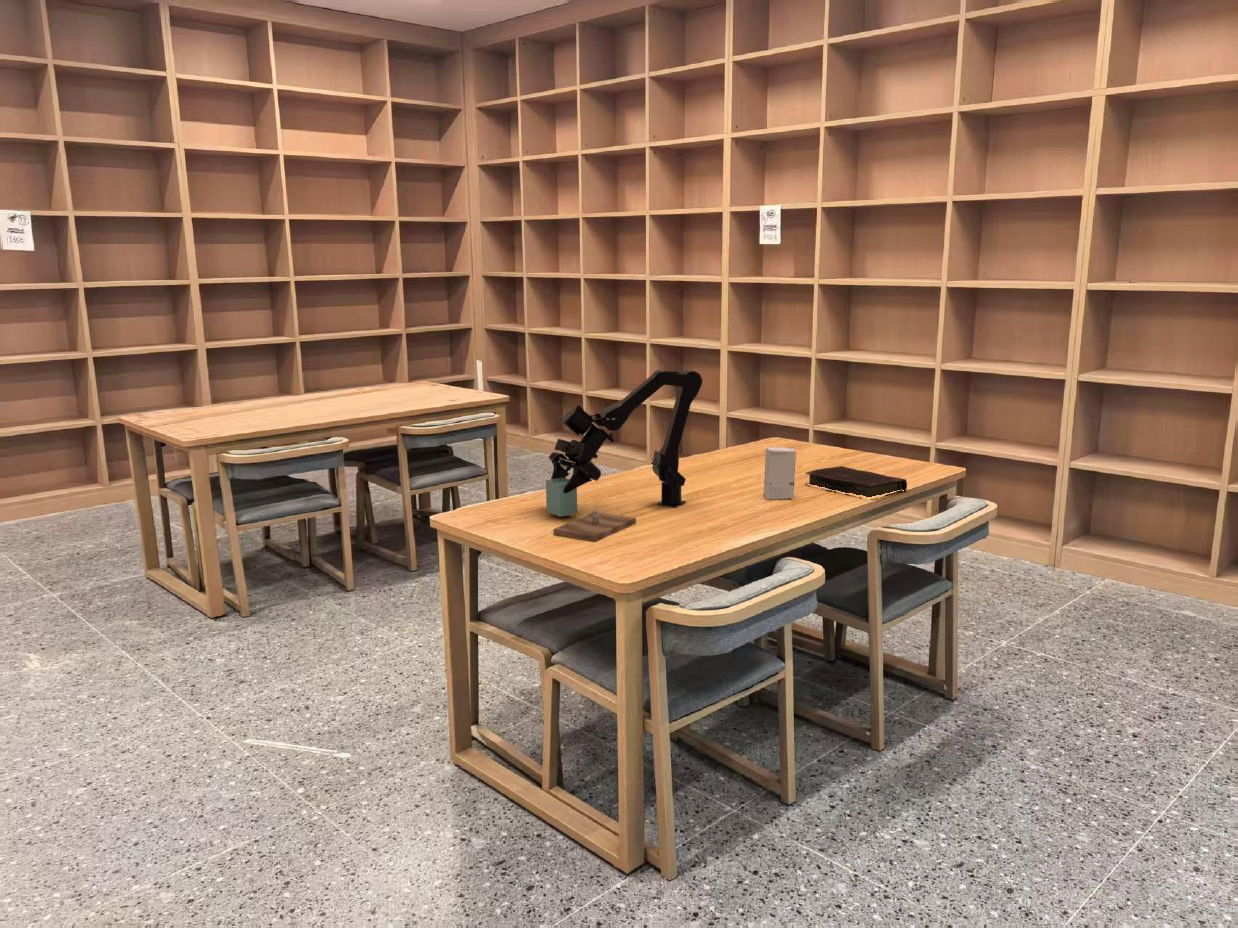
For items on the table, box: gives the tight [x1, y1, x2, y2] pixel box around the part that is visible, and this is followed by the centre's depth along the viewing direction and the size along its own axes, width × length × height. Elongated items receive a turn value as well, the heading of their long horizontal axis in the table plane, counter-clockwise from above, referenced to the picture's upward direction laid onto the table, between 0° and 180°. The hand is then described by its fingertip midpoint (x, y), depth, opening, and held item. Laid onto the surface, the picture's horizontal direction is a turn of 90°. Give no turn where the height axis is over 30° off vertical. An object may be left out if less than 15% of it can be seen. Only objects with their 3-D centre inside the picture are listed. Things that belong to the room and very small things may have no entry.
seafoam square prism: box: [545, 477, 578, 518], centre depth 256 cm, size 6×7×9 cm
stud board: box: [553, 509, 637, 543], centre depth 244 cm, size 20×13×5 cm, turn 149°
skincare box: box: [763, 446, 797, 500], centre depth 275 cm, size 8×6×15 cm
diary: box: [804, 465, 908, 497], centre depth 286 cm, size 19×25×5 cm
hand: (557, 490), depth 255 cm, fingers closed on seafoam square prism, 7 cm apart
